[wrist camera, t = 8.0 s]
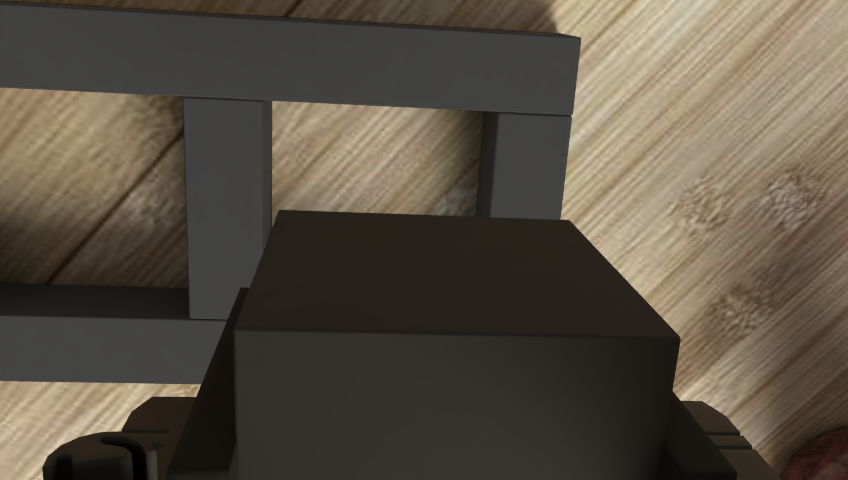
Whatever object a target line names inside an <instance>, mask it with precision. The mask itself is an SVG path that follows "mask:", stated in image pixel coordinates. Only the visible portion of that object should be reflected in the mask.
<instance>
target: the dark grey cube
mask: <svg viewBox="0 0 848 480" xmlns="http://www.w3.org/2000/svg"><path fill="white" fill-rule="evenodd" d="M233 334H234V404H235V438H236V439H237V480H657V474H658V468H659V462H660V456H661V450H662V444H663V442H664V438H665V432H666V426H667V420H668V414H669V408H670V402H671V395H672V389H673V383H674V377H675V371H676V365H677V359H678V353H679V347H680V340H681V339H680V336H679V335H678V334H677V333H676V332H675V331H674V330H673V329H672V328H671V327H670V326H669V325H668V324H667V323H666V322H665V321H664V320H663V319H662V317H661V316H660V315H659V314H658V313H657V312H656V311H655V310H654V309H653V308H652V307H651V306H650V305H649V304H648V303H647V302H646V301H645V300H644V298H643V297H642V296H641V295H640V294H639V293H638V292H637V291H636V290H635V289H634V288H633V287H632V286H631V285H630V284H629V283H628V282H627V281H626V280H625V278H624V277H623V276H622V275H621V274H620V273H619V272H618V271H617V270H616V269H615V268H614V267H613V266H612V265H611V264H610V263H609V262H608V261H607V259H606V258H605V257H604V256H603V255H602V254H601V253H600V252H599V251H598V250H597V249H596V248H595V247H594V246H593V245H592V244H591V243H590V242H589V240H588V239H587V238H586V237H585V236H584V235H583V234H582V233H581V232H580V231H579V230H578V229H577V228H576V227H575V226H574V225H573V224H572V223H571V221H569V220H554V219H525V218H496V217H467V216H438V215H409V214H380V213H351V212H322V211H293V210H280V211H279V212H278V214H277V217H276V220H275V222H274V225H273V227H272V230H271V233H270V235H269V238H268V241H267V243H266V246H265V249H264V251H263V254H262V256H261V259H260V262H259V264H258V267H257V270H256V272H255V275H254V277H253V280H252V283H251V285H250V288H249V291H248V293H247V296H246V299H245V301H244V304H243V306H242V309H241V312H240V314H239V317H238V320H237V322H236V325H235V327H234V330H233Z"/></svg>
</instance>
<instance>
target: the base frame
mask: <svg viewBox="0 0 848 480" xmlns="http://www.w3.org/2000/svg"><path fill="white" fill-rule="evenodd" d="M580 45H581V38H580V37H576V36H571V35H566V34H561V33H549V32H532V31H515V30H498V29H481V28H464V27H446V26H429V25H412V24H395V23H378V22H361V21H344V20H327V19H310V18H292V17H275V16H258V15H241V14H224V13H207V12H190V11H173V10H156V9H138V8H121V7H104V6H87V5H70V4H53V3H36V2H19V1H2V0H0V87H3V88H23V89H44V90H64V91H84V92H105V93H125V94H146V95H166V96H184V97H183V129H184V161H185V194H186V226H187V258H188V288H153V287H116V286H80V285H43V284H7V283H0V381H33V382H94V383H154V384H202V382H203V379H204V377H205V374H206V372H207V369H208V367H209V364H210V362H211V359H212V357H213V354H214V352H215V349H216V347H217V344H218V342H219V339H220V337H221V334H222V332H223V330H224V327H225V325H226V322H227V320H228V317H229V315H230V312H231V310H232V307H233V305H234V302H235V300H236V297H237V295H238V292H239V290H240V287H248V288H250V285H251V283H252V280H253V277H254V275H255V272H256V270H257V267H258V264H259V262H260V259H261V256H262V254H263V251H264V249H265V246H266V243H267V241H268V238H269V235H270V233H271V230H272V101H289V102H310V103H330V104H350V105H371V106H391V107H412V108H432V109H453V110H473V111H484V116H483V128H482V141H481V153H480V165H479V178H478V190H477V203H476V215H475V217H496V218H525V219H554V220H560V218H561V209H562V200H563V191H564V182H565V174H566V165H567V156H568V147H569V139H570V130H571V121H572V117H571V116H570V115H572V114H573V107H574V98H575V89H576V80H577V72H578V63H579V54H580Z"/></svg>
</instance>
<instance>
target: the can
mask: <svg viewBox="0 0 848 480" xmlns="http://www.w3.org/2000/svg"><path fill="white" fill-rule="evenodd" d="M782 480H848V428H843V429H839V430H835V431H831V432H828V433H824V434H822V435H821V436H819V437H817V438H815V439H814V440H812V441H810V442H808V443H807V444H806V445H805V446H804V447H803V448H802V449H801V450H800V451H799V452H798V453H796V454H795V455H794V456H793V458H792V459H791V461H790V463H789V464H788V466H787V468H786V470H785V471H784V473H783V477H782Z"/></svg>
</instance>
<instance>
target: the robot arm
mask: <svg viewBox="0 0 848 480" xmlns="http://www.w3.org/2000/svg"><path fill="white" fill-rule="evenodd" d="M248 291H249V288H248V287H240V290H239V292H238V295H237V297H236V300H235V302H234V305H233V307H232V310H231V312H230V315H229V317H228V320H227V322H226V325H225V327H224V330H223V332H222V334H221V337H220V339H219V342H218V344H217V347H216V349H215V352H214V354H213V357H212V359H211V362H210V364H209V367H208V369H207V372H206V374H205V377H204V379H203V382H202V384H201V387H200V389H199V392H198V394H197V397H151V398H150V399H148V400H147V401H146V402H144V403H143V404H142V405H140V406H139V407H137V408H136V409H135V410H133V411H132V412H131V414H130V415H129V417H128V419H127V421H126V423H125V425H124V426H123V428H122V432H121V431H120V432H100V433H95V434H91V435H87V436H83V437H79V438H77V439H74V440H72V441H70V442H68V443H65V444H63V445H61V446H60V447H59V448H57V449H56V450H55V451H54V452H52V453H51V454H50V455H49V456H48V457H47V459H46V461H45V463H44V465H43V468H42V469H43V480H237V439H236V438H235V404H234V334H233V330H234V327H235V325H236V322H237V320H238V317H239V314H240V312H241V309H242V306H243V304H244V301H245V299H246V296H247V293H248ZM657 480H781V479H780V477H779V476H778V475H777V474H776V473H775V472H774V471H773V469H772V468H771V467H770V466H769V465H768V464H767V463H766V461H765V460H764V459H763V458H762V457H761V456H760V455H759V453H758V452H757V451H756V450H752V445H751V444H750V443H749V442H748V441H747V440H746V439H745V437H744V436H740V432H739V431H738V429H737V428H736V427H735V426H734V425H733V424H732V423H731V421H730V420H729V419H728V418H727V417H726V416H725V415H723V414H722V413H720V412H719V411H717V410H715V409H714V408H712V407H711V406H709V405H707V404H706V403H704V402H702V401H680V400H679V398H678V397H677V396H676V395H675V393H674V392H673V391H672V395H671V402H670V408H669V414H668V420H667V426H666V432H665V438H664V442H663V444H662V450H661V456H660V462H659V468H658V474H657Z"/></svg>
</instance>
